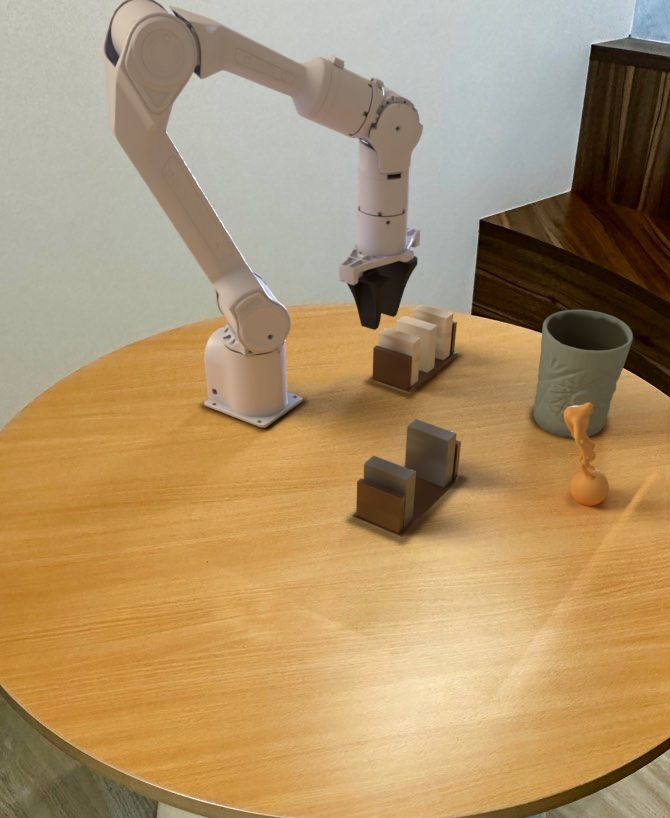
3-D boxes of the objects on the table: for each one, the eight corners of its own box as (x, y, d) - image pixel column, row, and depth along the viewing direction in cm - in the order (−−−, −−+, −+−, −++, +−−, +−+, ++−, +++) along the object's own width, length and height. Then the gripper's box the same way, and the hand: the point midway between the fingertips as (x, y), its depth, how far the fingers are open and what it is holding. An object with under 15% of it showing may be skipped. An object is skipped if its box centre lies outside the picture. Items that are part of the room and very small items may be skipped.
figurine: (607, 528, 91) (631, 429, 84) (548, 521, 92) (567, 423, 84) (602, 481, 97) (625, 385, 90) (547, 476, 98) (565, 380, 90)
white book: (394, 362, 116) (396, 320, 113) (401, 357, 118) (403, 315, 114) (427, 373, 114) (430, 330, 111) (434, 367, 116) (437, 325, 112)
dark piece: (368, 382, 113) (369, 335, 109) (418, 344, 122) (421, 299, 118) (408, 396, 111) (411, 348, 107) (457, 356, 119) (461, 310, 115)
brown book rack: (351, 520, 91) (352, 468, 87) (414, 462, 100) (417, 412, 96) (401, 541, 89) (404, 488, 85) (461, 480, 97) (466, 429, 93)
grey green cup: (558, 389, 113) (574, 301, 105) (628, 419, 107) (651, 329, 100) (511, 419, 107) (525, 328, 99) (582, 453, 102) (602, 359, 94)
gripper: (378, 235, 93) (374, 352, 101) (445, 197, 102) (436, 307, 111) (323, 220, 96) (324, 336, 104) (393, 185, 105) (389, 293, 114)
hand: (378, 320), depth 108 cm, fingers open, 4 cm apart
